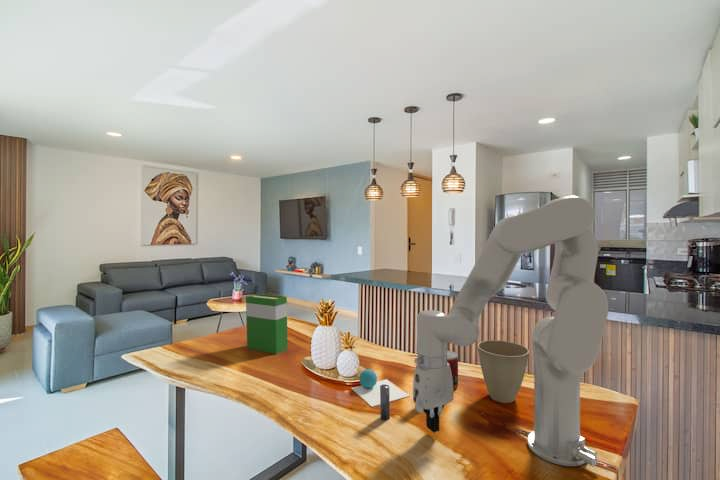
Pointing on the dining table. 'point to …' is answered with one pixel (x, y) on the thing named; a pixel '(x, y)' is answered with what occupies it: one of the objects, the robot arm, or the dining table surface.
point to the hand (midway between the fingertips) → (432, 429)
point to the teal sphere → (368, 378)
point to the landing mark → (374, 393)
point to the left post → (384, 402)
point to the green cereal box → (267, 323)
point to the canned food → (453, 367)
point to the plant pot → (503, 368)
